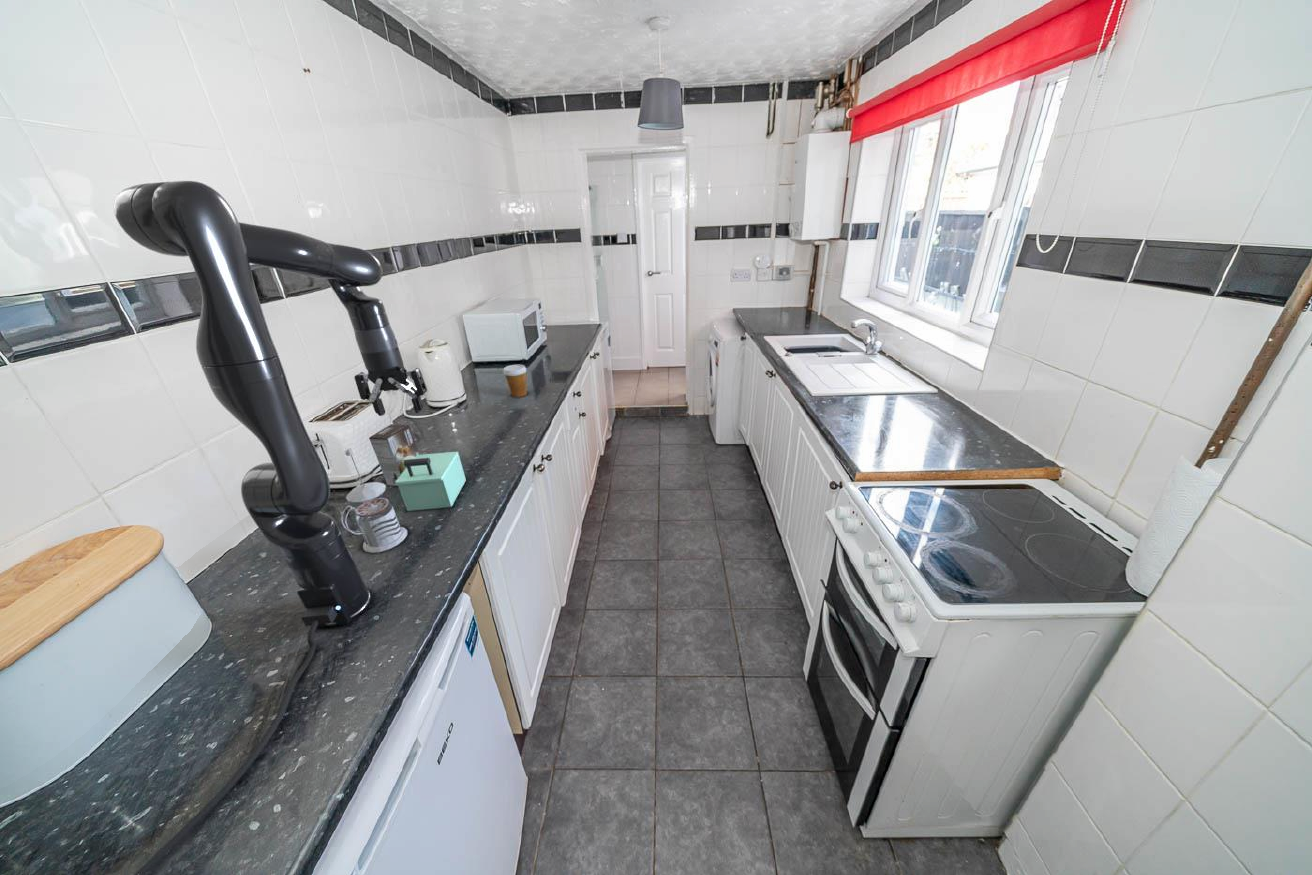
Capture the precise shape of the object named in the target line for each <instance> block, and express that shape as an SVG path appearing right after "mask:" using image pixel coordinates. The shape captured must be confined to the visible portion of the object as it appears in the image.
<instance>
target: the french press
mask: <svg viewBox="0 0 1312 875" xmlns="http://www.w3.org/2000/svg"><path fill="white" fill-rule="evenodd" d="M344 454H345V456H347V457H350V458H351V460H352V462H353V465H354V467H355V470H356V472H357V474H358V477H359V479H360V482H361V484H360V485H358V486H356V487H354V488H352V490H351V491H350V492H349V493H347V495H346V497H345V500H346V501H347V502H348V503H352V504H358V506H357V507H354V506H352V505H346V507H345V508H344V509H343V511H342V513H341V516H340V523H341V525H342V527H343V528H344V529H345V531H347V532H349V533H351V534H353V535H361V536H362V538H363V540H364V542H363V544H362V549H363V551H364V552H367V553H371V554H372V553H382V552H385V551H388V550H390V549H392V548H395V547H396V546H398V545H400V544H401V543H402V542H403V541H405V539H406V538H407V536H408V530H407V529H406V528H405V527H403V526H401V525H400V522H399V519H398V517H397V514H396V512H395V508H394V506H393V504H392V503H390V500H389V499H388V498H385V497H380V496H381V495H383V494H384V492H385V491H386V487H387V484H385V483H383V482H378V481H372V482H366V483H364V482H363V480H362V477H361V474H360V472H359V470H358V467H357V465H356V463H355V460H354V457H353V455H355V454H356V451H355V449H354V448H347V449H345V451H344ZM348 507H349V508H350V509H349V510H348V511H347V513H346V515H345V518H344V513H345V511H346V510H347V509H348ZM350 512H354V514H355V520H356V523H357V526H358V527H359V530H351V529H350V528H349V525H348V522H347V521H348V519H347V518H348V515H349V513H350ZM372 516H373V517H372ZM375 516H376V517H375ZM367 517H369V518H367ZM365 518H366V519H365ZM364 519H365V520H364ZM343 520H344V521H343ZM344 522H345V523H344Z"/></svg>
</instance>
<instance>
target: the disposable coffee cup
mask: <svg viewBox="0 0 1312 875" xmlns="http://www.w3.org/2000/svg"><path fill="white" fill-rule="evenodd" d="M502 373H503V375H504V376H505V379H506V382H507V386H508V387H509V390H510V394H511V396H512V397H514V398H520V397H525V396H526V395H527V394H528V388H527V386H528V385H527V367H526V366H525V365H524V364H510V365H507V366H505V367H504V368H503V372H502Z"/></svg>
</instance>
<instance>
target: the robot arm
mask: <svg viewBox="0 0 1312 875" xmlns="http://www.w3.org/2000/svg"><path fill="white" fill-rule="evenodd" d="M113 213H114V217H115V219H116V221H117V223H118V225H119V226H120V228H121V229H122V230H123V231H124V233H126V235H127V236H129V237H130V239H132V240H133V241H135V242H136V243H137V244H139V246H142V247H144V248H146V249H147V250H150V251H152V252H155V253H158V254H160V255H165V256H171V257H179V258H180V257H181V258H185V257H186V258H187V257H188V258H189V260H190V263H191V264H192V268H193V270H194V273H195V275H196V278H197V282H198V284H199V288H200V292H201V311H200V316H199V321H198V327H197V331H196V339H195V350H196V355H197V359H198V362H199V365H200V367H201V370H202V372H203V375H204V377H205V378H206V382H207V383H208V386H209V388H210V390H211V392H212V394H213V395H214V398H215V399H216V400H217V401H218V402H219V404H220V405H221V406H222V407H223V408H224V409H225V410H226V411H227V412H228V413H230V414H231V416H233V417H234V418H235V420H237V421H238V422H239V423H240V424H242V425H243V426H244V427H245V428H246V429H247V430H248V431H250V433H252V434H253V435H254V436H255V437H256V438H257V440H259V442H260V443H261V444H262V445H263V448H264V449H265V450H266V452H267V454H268V456H269V458H270V461H271V462H264V463H260V464H258V465H257V464H256V465H255V466H253V467H252V468H250V469H249V470H248V471H247V472H246V473H245V475H244V476H243V479H242V482H241V486H240V493H241V494H240V495H241V498H242V502H243V505H244V507H245V509H246V511H247V513H248V514H249V516H250V517H251V519H252V520H253V522H254V523H255V525H256V526H257V528H258V529H259V531H260V532H261V534H262V535H263V537H264V538H265V540H266V541H267V542H268V543H269V544H271V545H272V546H273V547H275V548H277V550H278V551H279V553H280V554H281V556H282V558H283V560H284V562H285V563H286V565H287V567H288V569H289V571H290V572H291V574H292V576H293V578H294V579H295V581H296V583H297V586H298V587H299V588H298V589H297V590H296V594H297V595H298V597H299V599H300V601H301V603H302V604H303V606H304V608H305V609H306V610H305V611H304V612H303V614H301V616H300V619H301V620H302V622H303V624H304V626H305V627H308V626H310V627H309V630H308V634H307V643H308V645H309V646H308V647H309V648H308V652H307V656H306V657H305V660H304V661H303V663H302V665H301V666H300V667H299V669H298V670H297V671H296V672H295V674H294V675H293V677H292V679H291V680H290V683H288V685H287V689H286V691H285V693H284V696H283V698H282V701H281V704H280V705H279V708H278V711H277V713H276V715H275V717H274V719H273V721H272V723H271V725H270V726H269V728H268V729H267V731H266V733H265V734H264V735H263V737H262V739H261V740H260V742H259V743H258V744H257V746H256V747H255V749H254V750H253V751H252V753H251V754H250V755H249V756H248V758H247V759H246V760H245V761H244V762H243V764H242V765H241V766H240V768H238V770H237V771H236V772H235V773H234V775H233V776H232V777H231V778H230V779H229V780H228V781H227V783H226V784H225V785H224V786H223V787H222V788H221V789H220V790H219V792H217V794H215V795H214V797H213V798H212V799H211V800H209V802H208V803H207V804H206V805H204V807H203V808H201V810H200V811H199V812H198V813H197V814H195V815H194V816H193V817H192V818H191V819H190V820H189V822H187V823H186V824H185V825H184V826H183V827H182V828H181V829H180V830H179V831H177V833H176V834H175V835H174V836H173V837H172V838H171V839H170V840H169V841H167V843H166V844H164V845H163V847H161V848H160V850H158V851H157V852H156V853H155V854H154V855H153V856H152V857H151V858H150V859H149V860H148V861H147V862H145V863H144V865H143V866H141V867H140V868H139V869H138V870H137V871H136V872H135V873H133V875H138V874H139V875H146V874H148V872H149V871H150V870H151V869H153V867H154V866H155V865H156V864H157V863H158V862H160V861H161V860H162V859H163V858H164V857H165V856H166V855H167V854H168V853H169V852H171V850H172V849H173V848H174V847H175V846H176V845H177V844H179V842H180V841H182V839H183V838H184V837H185V836H186V835H187V834H188V833H189V832H190V831H191V830H192V829H193V828H194V827H195V826H196V825H197V824H198V823H200V821H201V820H202V819H203V818H204V817H206V816H207V814H209V812H211V811H212V810H213V809H214V808H215V806H217V804H219V802H220V801H221V800H222V799H223V798H224V797H225V796H226V795H227V794H228V793H229V791H231V789H233V787H234V786H235V785H236V784H237V783H238V782H239V780H240V779H241V778H242V777H243V776H244V775H245V773H246V772H247V771H248V769H249V768H250V767H251V766H252V764H253V763H254V762H255V761H256V760H257V759H258V757H259V756H260V754H261V753H262V751H264V749H265V748H266V747H267V744H268V743H269V741H270V740H271V738H272V737H273V735H274V733H275V732H276V730H277V728H278V727H279V726H280V723H281V721H282V719H283V717H284V715H285V713H286V711H287V709H288V707H289V703H290V700H291V698H292V695H293V692H294V690H295V687H296V685H297V683H298V682H299V679H300V678H301V677H302V675H303V674H304V672H305V671H306V669H307V667H308V666H309V664H310V662H311V660H312V659H313V656H314V655H315V653H316V648H317V642H316V641H315V635H316V634H315V633H316V630H317V628H324V627H336V626H344V625H345V626H346V625H349V624H350V623H351V621H352V620H353V619H355V618H357V617H358V616H359V615H361V614H362V613H363V612H364V611H365V610H366V609H367V608H368V606H369V605H370V604H371V600H372V595H371V592H370V590H368V588H367V585H366V583H365V581H364V578H363V577H362V575H361V572H360V570H359V568H358V565H357V563H356V562H355V558H354V557H353V555H352V553H351V551H350V548H349V547H348V544H347V542H346V539H345V537H344V536H343V533H342V531H341V529H340V526H339V525H338V522H337V520H336V519H335V517H333V516H332V515H330V514H327V513H325V512H322V510H323V509H324V508H325V507H326V506H327V504H328V502H329V499H330V495H331V484H330V483H331V482H330V478H329V475H328V473H327V470H326V467H325V466H324V464H323V462H322V459H321V457H320V455H319V454H318V452H317V450H316V448H315V446H314V444H313V442H312V440H311V437H310V435H309V433H308V431H307V430H306V427H305V425H304V421H303V420H302V417H301V414H300V411H299V409H298V406H297V404H296V402H295V399H294V396H293V394H292V391H291V387H290V385H289V381H288V379H287V374H286V372H285V369H284V367H283V364H282V361H281V358H280V356H279V353H278V350H277V347H276V346H275V343H274V340H273V338H272V335H271V333H270V332H271V331H270V330H269V326H268V323H267V320H266V318H265V315H264V312H263V308H262V305H261V301H260V298H259V296H258V293H257V289H256V285H255V282H254V278H253V272H252V269H251V264H252V265H256V266H262V267H266V268H271V269H274V270H275V269H276V270H280V271H284V272H287V273H293V274H297V275H300V276H305V277H310V278H313V279H320V280H326V282H327V283H328V285H329V286H330V288H331V289H332V291H333V292H334V293H335V295H336V297H337V298H338V300H339V301H340V303H341V304H342V305H343V307H344V309H345V310H346V311H347V315H348V317H349V320H350V323H351V327H352V329H353V332H354V335H355V336H354V337H355V342H356V344H357V348H358V350H359V352H360V353H359V354H360V355H361V359H362V361H363V363H364V368H365V369H366V370H367V373H365V372H363V371H360V372H359V373H357V374H355V375H354V381H355V384H356V388H357V391H358V394H359V397H360V398H359V399H360V400H362V401H365V400H367V401H370V402H371V404H372V408H373V410H374V413H375V414H376V415H377V416H378V417H383V416H384V415H385V414H386V412H387V411H386V408H385V406H384V403H383V399H382V398H380V397H381V395H382V392H389V391H401V392H402V393H404V394H406V395H407V396H409V397H411V399H410V400H411V403H412V406H413V409H414V413H415V414H420V413H421V412H422V411H423V409H424V404H423V401H422V398H421V396H422V397H423V396H424V395H425V394H426V393H427V392H428V388H427V385H426V382H425V379H424V377H423V374H422V371H421V369H420V368H419V367H416V368H414V369H411V370H408V369H406V367H405V366H404V365H405V364H404V361H403V358H402V353H401V351H400V348H399V345H398V340H397V338H396V335H395V333H394V330H393V329H392V326H391V323H390V320H389V317H388V314H387V312H386V307H385V305H384V303H383V301H382V300H381V299H380V298H378V297H373V296H369V295H367V294H365V293H364V291H363V290H362V289H361V287H371V286H375V285H377V284H378V283H379V282H381V280H382V277H383V267H382V264H381V262H380V261H379V259H378V258H377V257H376V256H375V255H374V254H372V253H371V252H369V251H368V250H365V249H363V248H359V247H354V246H349V245H343V244H336V243H331V242H326V241H323V240H321V239H318V238H315V237H312V236H309V235H306V234H303V233H300V232H296V231H292V230H288V229H283V228H277V227H271V226H264V225H258V224H250V223H246V222H240V221H239V220H238V218H237V216H236V214H235V212H234V210H233V208H232V207H231V205H230V204H229V203H228V202H227V200H226V199H225V197H223V196H222V195H221V194H220V193H219V192H218V191H217V190H216V189H214V188H213V187H212V186H209V185H207V184H205V183H203V182H200V181H195V180H172V181H162V182H161V181H160V182H148V183H140V184H136V185H135V184H134V185H131V186H129V187H126V188H124V189H122V191H120V192H118V194H117V196H116V197H115V199H114V203H113ZM408 377H409V378H410V379H411V380H412V381H413V383H414V384H413V383H412V382H411V381H410V380H408ZM369 381H370V382H371V383H373V384H374V385H373V388H372V390H371V389H370V386H369V383H368V382H369Z"/></svg>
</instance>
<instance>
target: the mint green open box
mask: <svg viewBox="0 0 1312 875" xmlns="http://www.w3.org/2000/svg"><path fill="white" fill-rule="evenodd" d="M466 481H467V479H466V475H465V471H464V469H463V464H462V460H461V457H460V454H459V453H458V456H457V457H456V459H455V460H454V462H453V464H452V465H451V467H450V468H449V470H448V472H447V473H446V475H445V476H444V478H443V480H442V481H433V482H422V483H411V484H399V485H398V486H397V487H398V489H399V493H400V495H401V498H402V500H403V503H404V506H405V509H406V511H407V512H410V511H411V512H413V511H420V510H422V511H423V510H432V509H442V508H443V509H444V508H452V506H454V503H455V501H456V500H457V497H458V496H459V494H460V492H461V491H462V489H463V487H464V485H465V483H466Z"/></svg>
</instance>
